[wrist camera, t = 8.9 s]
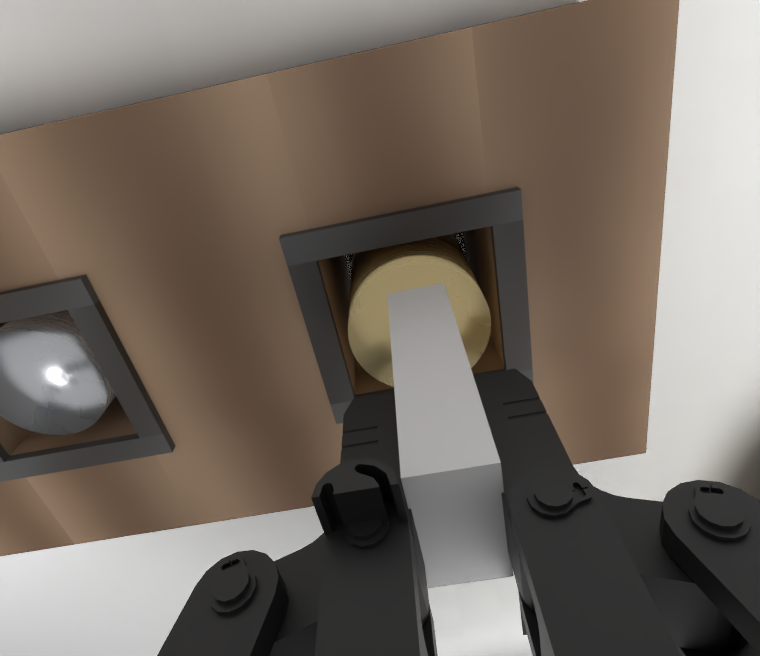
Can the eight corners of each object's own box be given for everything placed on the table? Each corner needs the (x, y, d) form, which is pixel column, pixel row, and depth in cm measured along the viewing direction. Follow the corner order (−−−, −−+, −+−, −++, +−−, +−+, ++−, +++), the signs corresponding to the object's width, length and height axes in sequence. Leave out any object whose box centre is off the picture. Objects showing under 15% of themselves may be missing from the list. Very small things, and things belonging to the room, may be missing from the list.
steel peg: (92, 356, 22) (14, 444, 17) (45, 272, 20) (-58, 343, 15) (181, 340, 21) (127, 424, 17) (141, 252, 20) (67, 319, 15)
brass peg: (365, 315, 20) (364, 400, 15) (341, 219, 18) (332, 280, 13) (465, 296, 20) (497, 376, 15) (452, 196, 18) (483, 251, 13)
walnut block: (49, 454, 25) (-41, 569, 19) (-148, 168, 18) (-370, 219, 13) (582, 360, 23) (649, 458, 17) (580, 2, 16) (688, -23, 11)
